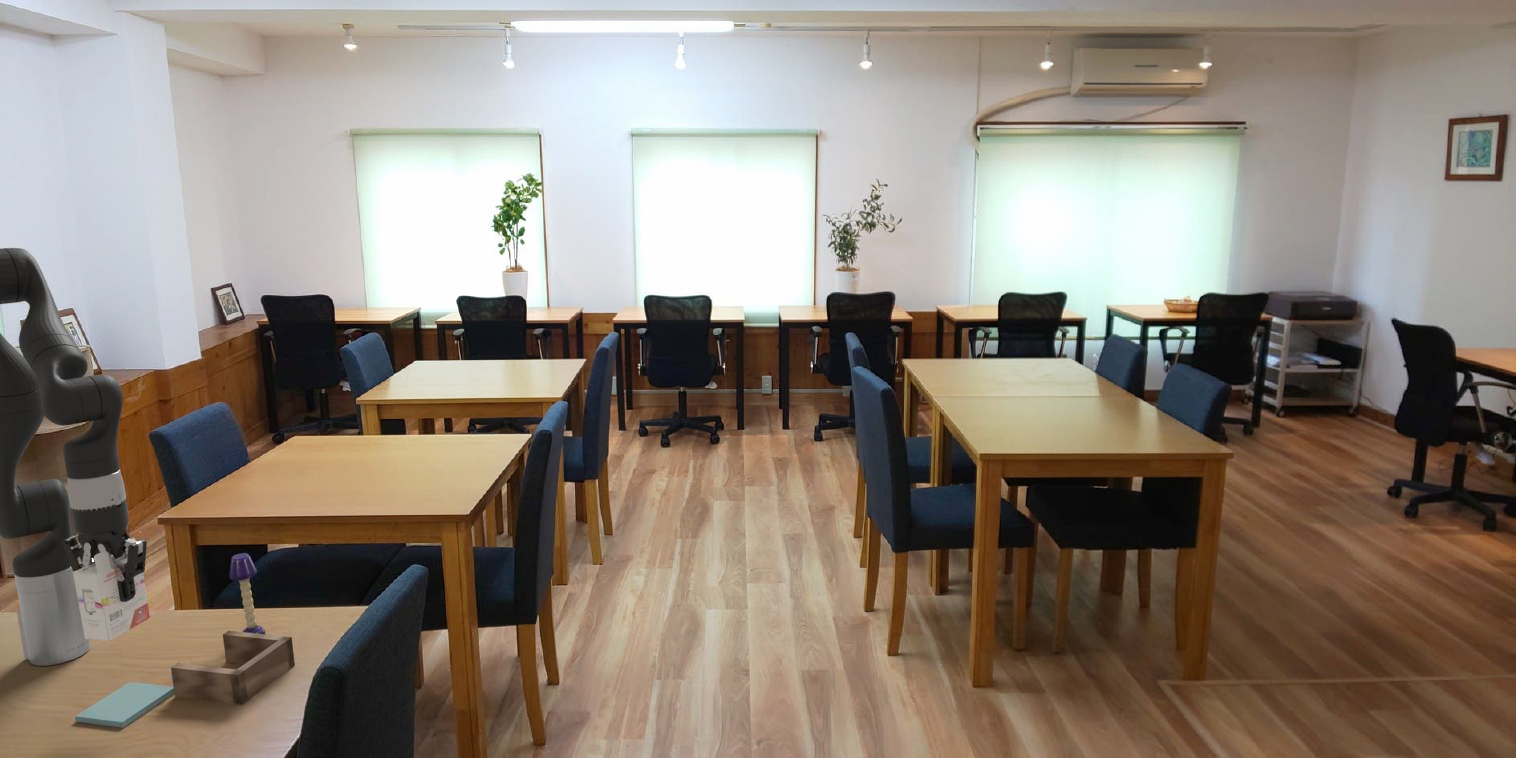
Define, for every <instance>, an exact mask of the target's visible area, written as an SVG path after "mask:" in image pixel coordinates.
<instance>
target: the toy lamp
mask: <svg viewBox="0 0 1516 758" xmlns="http://www.w3.org/2000/svg"><path fill="white" fill-rule="evenodd" d="M257 573H258V571H257V568H256V566H255V564H254V562H253V559H252V557H251V556H250V554H248V553H247V552H243V553H242V552H241V553H238V554H235V555H232V556H231V560H230V566H229V579H230V580H232V581H238V583H239V584H240V585H239V589H240V591H241V593H240V595H241V598H242V605H243V612H244V618H245V621H246V623H245V624H246V627H245V628H244V629H243V630H242V631H241V632H246V633H256V634H265V635H266V630H265V629H264V628H263V626H261V625H259V624H258V623H257V620H256V613H255V606H254V599H253V597H252V596H253V593H252V590H251V587H252V585H251V583H250V578H252V577H255V575H257Z"/></svg>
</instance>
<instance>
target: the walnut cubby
mask: <svg viewBox="0 0 1516 758" xmlns="http://www.w3.org/2000/svg"><path fill="white" fill-rule="evenodd" d="M222 639H223V646H224V648H223V649H224V655H225V657H224V658H225V663H230V664H231V663H232V664H239V665H241V666H239V667H238V668H237V669H234V668H224V667H215V666H206V665H199V664H198V665H197V664H187V663H179V662H177V663H175V664H174V665H172V666H171V667H170V670H171V677H172V678H171V679H172V684H173V686H172V687H174V697H175V698H181V699H189V700H198V701H206V702H213V703H223V704H233V705H238V706H239V705H240V706H242V705H244V704H245V703H246V702H248V701H249V700H250V699H251V698H253V697H254V696H257V694H258V693H260V692H261V691H263V689H265V688H267V687H268V686H269V685H271V684H272V682H274V681H276V680H277V679H279V677H282V675H283V674H285V673H286V672H288V671H289V670H290V669H292V668H293V667H294V666H295V664H296V663H295V662H296V661H295V654H294V645H293V637H292V636H285V635H284V636H282V635H272V634H266V633H265V634H256V633H246V632H242V631H234V630H227V631H226V632H224V633H223V634H222Z"/></svg>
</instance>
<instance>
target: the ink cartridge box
mask: <svg viewBox="0 0 1516 758" xmlns="http://www.w3.org/2000/svg"><path fill="white" fill-rule="evenodd" d="M131 539H133V540H136V541H137V539H136V538H135V537H131ZM124 558H125V554H123V555H122V556H121V557H119V558H117V559H115V560H116V561H117V562H118V561H120V560H123V559H124ZM94 560H95V563H94V564H92V565H90V566H85V567H83V568H81V569H79V570H76V571H74V572H73V575H74V581H75V586H76V592H77V598H78V603H79V609H80V614H81V620H82V625H83V631H84V636H85V639H89V640H95V641H103V642H104V641H106V642H107V641H108V642H110V641H112V640H114V639H115V638H118V637H119V636H122V635H123V634H125V633H127V632H128V631H130V630H131V629H133V628H136V626H138V625H141V624H143V623H144V622H145V621H147V620H149V619H150V618H151V617H150V610H149V603H148V596H147V591H146V583H145V578H144V572H143V573H141V574H139V575H137V576H135V577H134V584H135V591H136V594H135V596H134V598H133V599H131V600H129V601H127V602H121V601H120V596H119V590H118V583H117V581H119V580H118V578H117V576H116V574H115V570H114V569H112V568H111V565H110V563H111V562H110V561H109V557H108V553H107V552H106V551H103V552H101V553H98V554H96V555H95V556H94ZM121 567H122V569H123V571H124V572H125V571H126V570H125V565H124V564H123V565H122V566H121Z"/></svg>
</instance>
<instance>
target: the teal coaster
mask: <svg viewBox="0 0 1516 758" xmlns="http://www.w3.org/2000/svg"><path fill="white" fill-rule="evenodd" d="M173 695H175V693H174V686H170V685H169V686H168V685H160V684H153V683H142V682H135V681H134V682H133V681H129V682H127V683H126V684H124V685H123V686H122V687H120V688H118V689H116V690H115V691H113V692H112V693H110V694H108V695H107V696H105V697H104V698H102V699H100V700H99V701H97V702H95V703H93V704H92V705H91V706H90V707H88V708H86V709H84V710H82V711H81V712H79V713H78V714H76V715H75V716H74V717H75V722H76V723H84V724H92V725H98V726H106V727H107V726H108V727H113V728H122V729H123V728H125V727H127V726H128V725H129V724H131V723H133V722H134V721H135V720H137V719H138V718H140V717H141V716H143V715H144V714H146V713H148V712H149V711H151V710H152V709H153V708H155V707H157V706H158V705H159V704H161V703H163V702H164V701H165V700H167V699H168V698H170V697H171V696H173Z"/></svg>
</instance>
